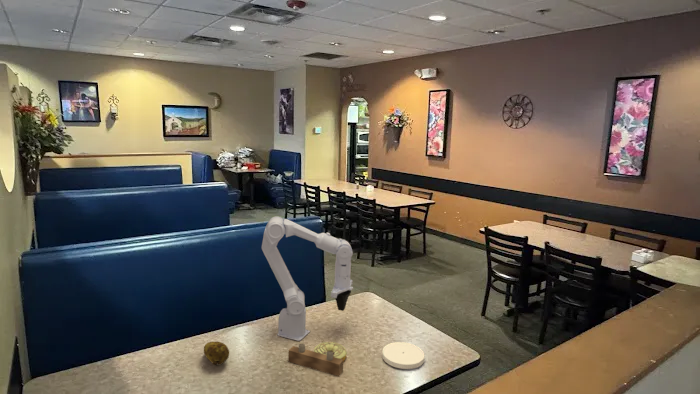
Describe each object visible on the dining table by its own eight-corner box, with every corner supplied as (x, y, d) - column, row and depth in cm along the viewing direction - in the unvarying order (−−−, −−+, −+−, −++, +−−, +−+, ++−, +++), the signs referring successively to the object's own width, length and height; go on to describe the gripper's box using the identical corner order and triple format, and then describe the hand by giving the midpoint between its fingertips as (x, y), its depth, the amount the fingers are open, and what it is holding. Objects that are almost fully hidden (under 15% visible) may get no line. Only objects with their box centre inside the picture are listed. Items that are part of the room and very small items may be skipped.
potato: (231, 350, 140) (230, 328, 139) (228, 372, 128) (228, 348, 127) (205, 352, 139) (204, 330, 137) (199, 375, 126) (199, 350, 125)
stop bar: (288, 361, 135) (288, 344, 134) (293, 357, 138) (293, 340, 137) (338, 376, 128) (339, 358, 127) (342, 371, 131) (343, 353, 130)
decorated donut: (332, 371, 131) (332, 360, 131) (307, 359, 137) (307, 348, 137) (352, 357, 139) (352, 347, 139) (327, 346, 146) (327, 336, 145)
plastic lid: (413, 346, 148) (414, 340, 148) (431, 369, 135) (431, 361, 134) (376, 351, 144) (376, 344, 144) (390, 374, 131) (391, 367, 131)
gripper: (344, 282, 143) (342, 319, 145) (360, 270, 156) (358, 304, 158) (325, 279, 146) (324, 315, 148) (343, 266, 159) (342, 300, 161)
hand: (341, 309), depth 153 cm, fingers closed
